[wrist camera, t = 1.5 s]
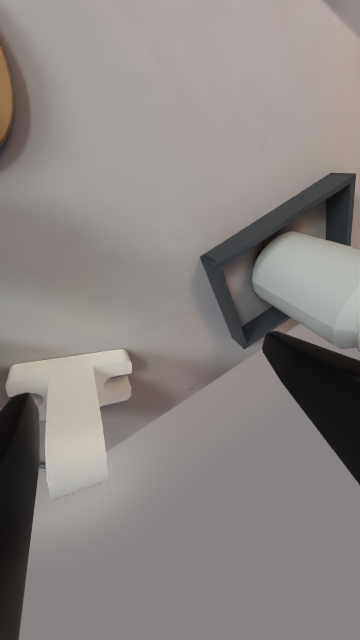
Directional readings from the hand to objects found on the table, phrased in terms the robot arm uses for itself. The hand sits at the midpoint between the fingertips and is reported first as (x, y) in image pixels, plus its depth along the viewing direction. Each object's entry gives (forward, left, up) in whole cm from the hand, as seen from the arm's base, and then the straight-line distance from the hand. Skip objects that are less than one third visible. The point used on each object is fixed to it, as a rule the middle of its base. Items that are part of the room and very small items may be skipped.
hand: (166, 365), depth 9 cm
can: (+10, -15, -13) cm, 22 cm away
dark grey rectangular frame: (+10, -15, -13) cm, 22 cm away
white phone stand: (-11, -4, -13) cm, 18 cm away
